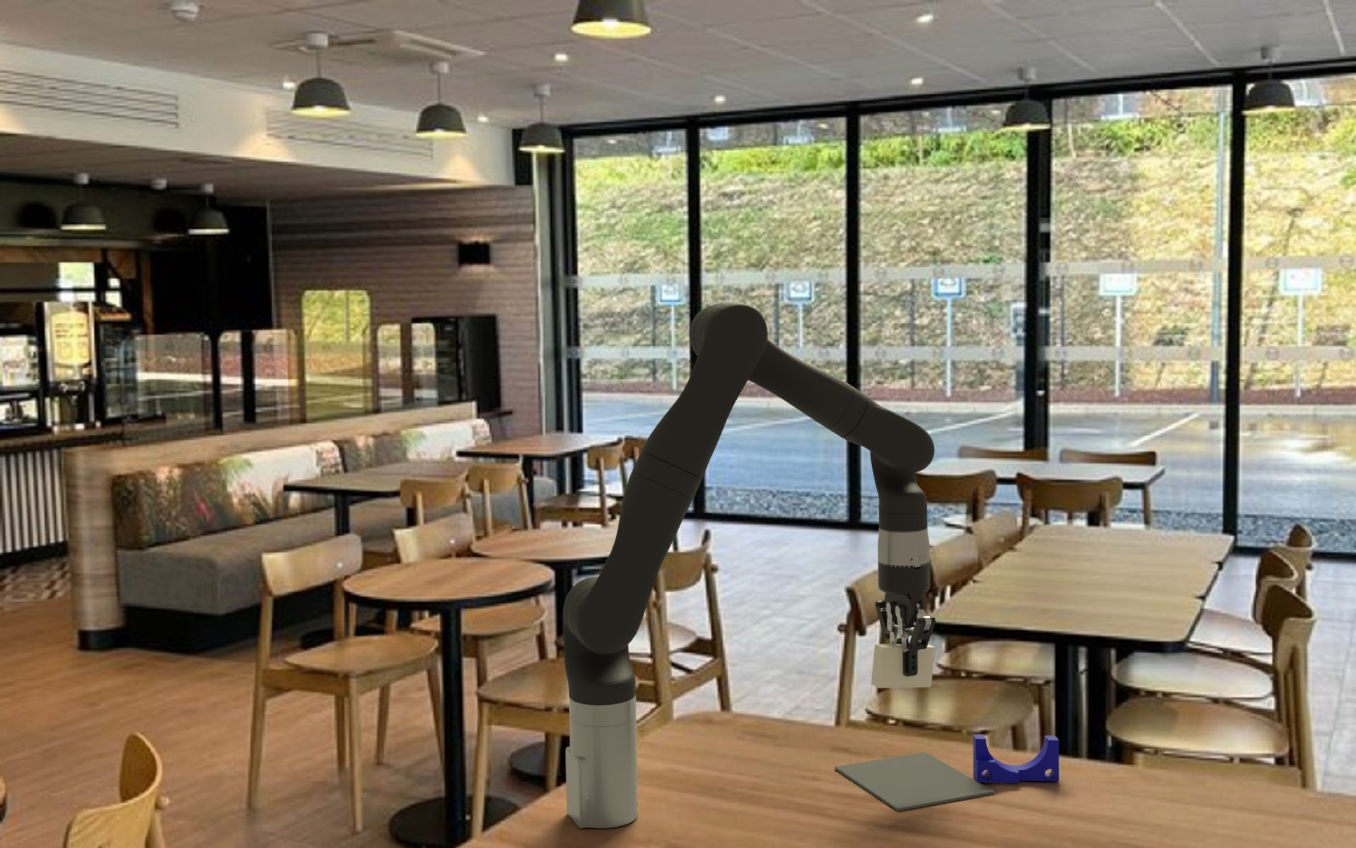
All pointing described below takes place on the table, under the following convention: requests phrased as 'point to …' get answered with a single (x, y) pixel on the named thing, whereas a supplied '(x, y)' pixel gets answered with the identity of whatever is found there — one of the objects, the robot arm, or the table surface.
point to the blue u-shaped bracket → (1014, 773)
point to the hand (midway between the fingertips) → (905, 672)
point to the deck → (900, 667)
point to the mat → (913, 781)
